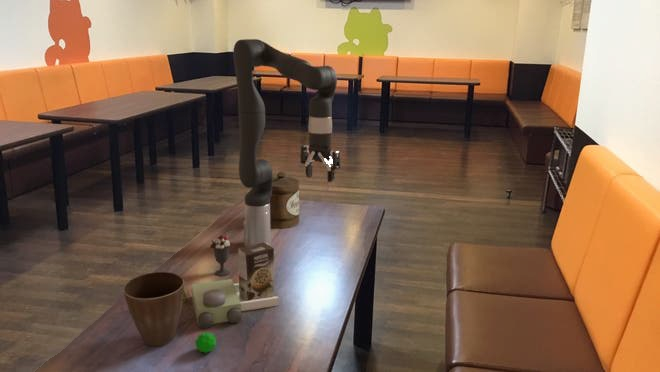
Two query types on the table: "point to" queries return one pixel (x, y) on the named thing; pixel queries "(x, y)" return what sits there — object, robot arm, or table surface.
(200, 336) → the polyhedron
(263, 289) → the coffee box
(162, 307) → the plant pot
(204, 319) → the toy front loader
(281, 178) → the wooden container
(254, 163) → the robot arm
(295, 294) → the table surface
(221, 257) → the sundae
